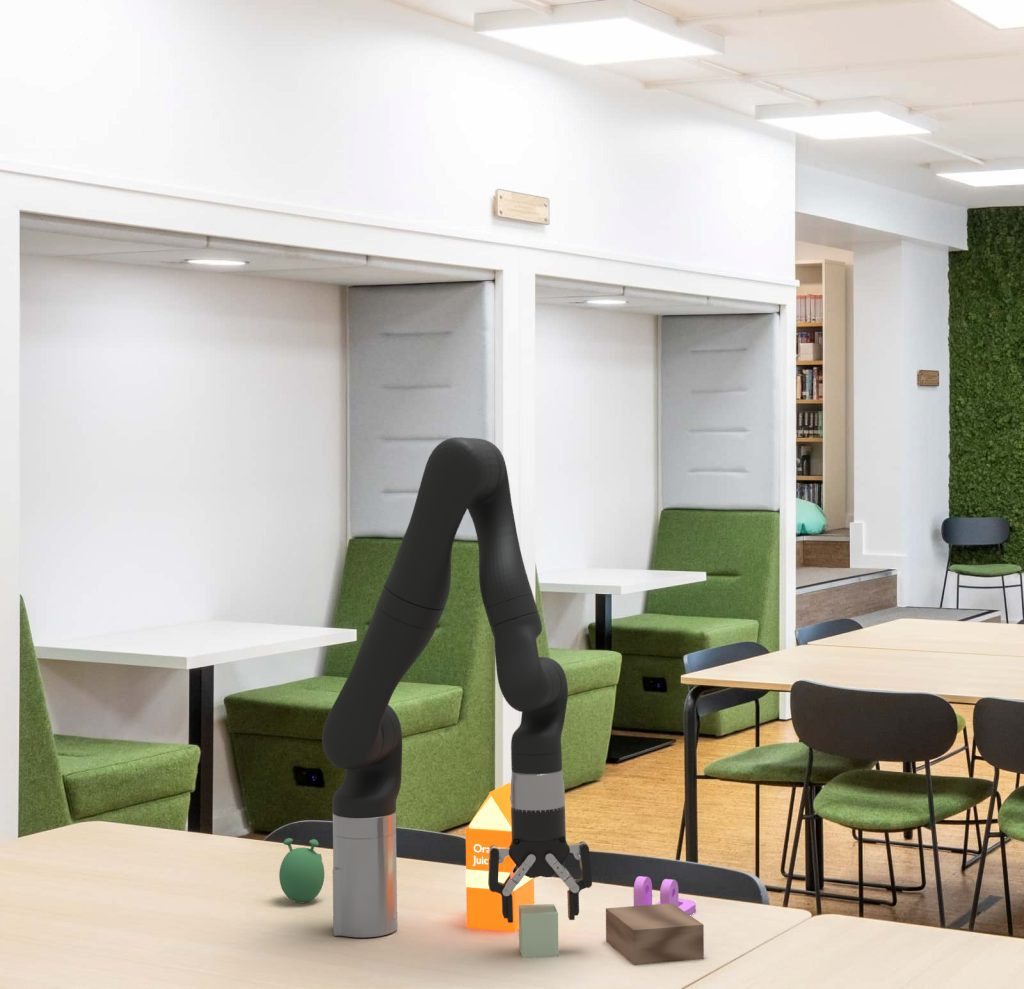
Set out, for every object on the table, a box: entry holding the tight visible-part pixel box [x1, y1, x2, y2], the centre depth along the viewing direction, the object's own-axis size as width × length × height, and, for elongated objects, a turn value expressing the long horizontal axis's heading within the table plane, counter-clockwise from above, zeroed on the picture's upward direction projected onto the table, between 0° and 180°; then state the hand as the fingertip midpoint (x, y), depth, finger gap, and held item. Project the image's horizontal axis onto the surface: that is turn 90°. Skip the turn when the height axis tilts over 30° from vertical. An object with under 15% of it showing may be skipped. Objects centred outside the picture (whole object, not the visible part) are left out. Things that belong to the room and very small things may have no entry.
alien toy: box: [278, 837, 325, 903], centre depth 254 cm, size 7×8×10 cm
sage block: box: [518, 903, 559, 959], centre depth 225 cm, size 5×5×6 cm
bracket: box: [633, 875, 697, 916], centre depth 242 cm, size 13×6×7 cm, turn 153°
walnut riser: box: [605, 903, 705, 966], centre depth 225 cm, size 10×12×5 cm
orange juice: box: [465, 782, 535, 933], centre depth 240 cm, size 8×9×20 cm
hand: (540, 920), depth 224 cm, fingers open, 8 cm apart
